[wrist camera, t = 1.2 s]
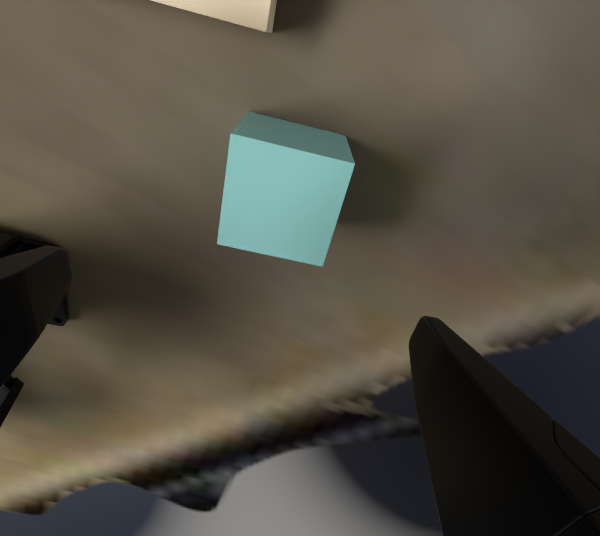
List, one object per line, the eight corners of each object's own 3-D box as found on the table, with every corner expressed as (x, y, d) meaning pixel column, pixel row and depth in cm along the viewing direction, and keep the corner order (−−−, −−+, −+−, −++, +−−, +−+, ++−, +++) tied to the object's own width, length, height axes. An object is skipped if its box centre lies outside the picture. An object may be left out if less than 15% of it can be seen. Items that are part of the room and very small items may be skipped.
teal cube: (320, 221, 21) (322, 266, 17) (235, 202, 21) (216, 243, 17) (345, 135, 19) (355, 163, 15) (249, 111, 18) (230, 133, 14)
